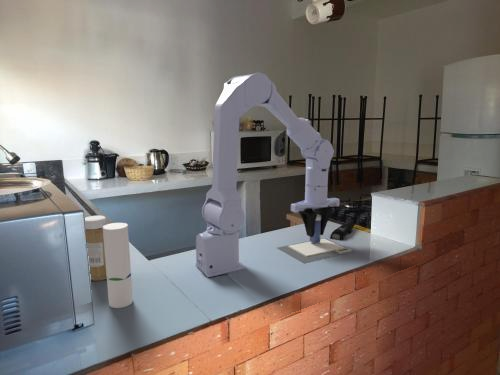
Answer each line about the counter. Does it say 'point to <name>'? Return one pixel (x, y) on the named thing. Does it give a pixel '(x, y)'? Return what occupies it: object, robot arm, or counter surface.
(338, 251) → the word tile
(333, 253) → the desk mat
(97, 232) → the sprinkles bottle
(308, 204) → the robot arm
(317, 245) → the paper
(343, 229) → the electric trimmer
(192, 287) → the counter surface
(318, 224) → the marker
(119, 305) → the tube
